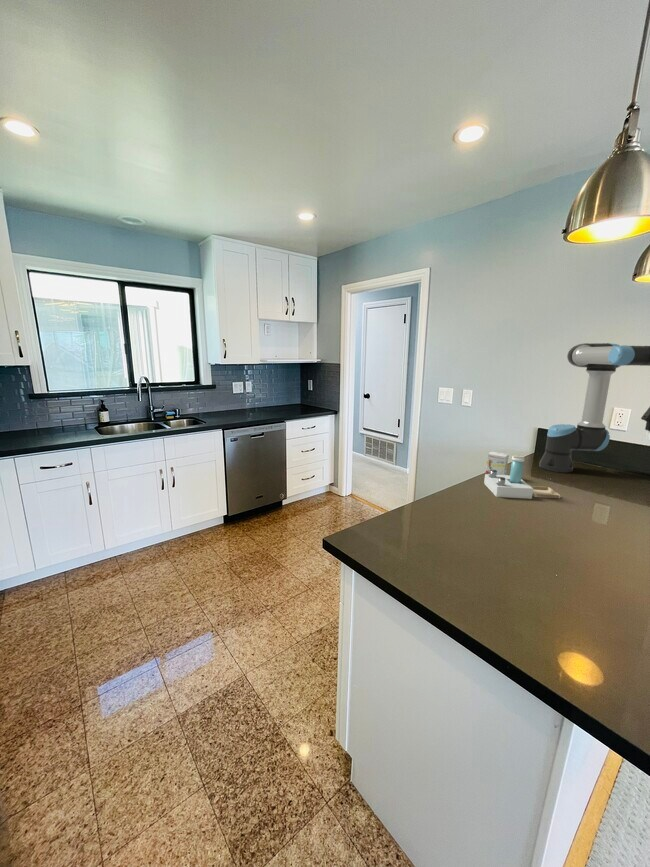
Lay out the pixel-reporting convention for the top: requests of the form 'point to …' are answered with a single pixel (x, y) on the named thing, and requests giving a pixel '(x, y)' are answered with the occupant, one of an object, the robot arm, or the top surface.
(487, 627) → the top surface
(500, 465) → the ink box
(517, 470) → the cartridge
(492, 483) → the housing
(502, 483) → the plunger
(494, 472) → the plunger
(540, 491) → the tray
